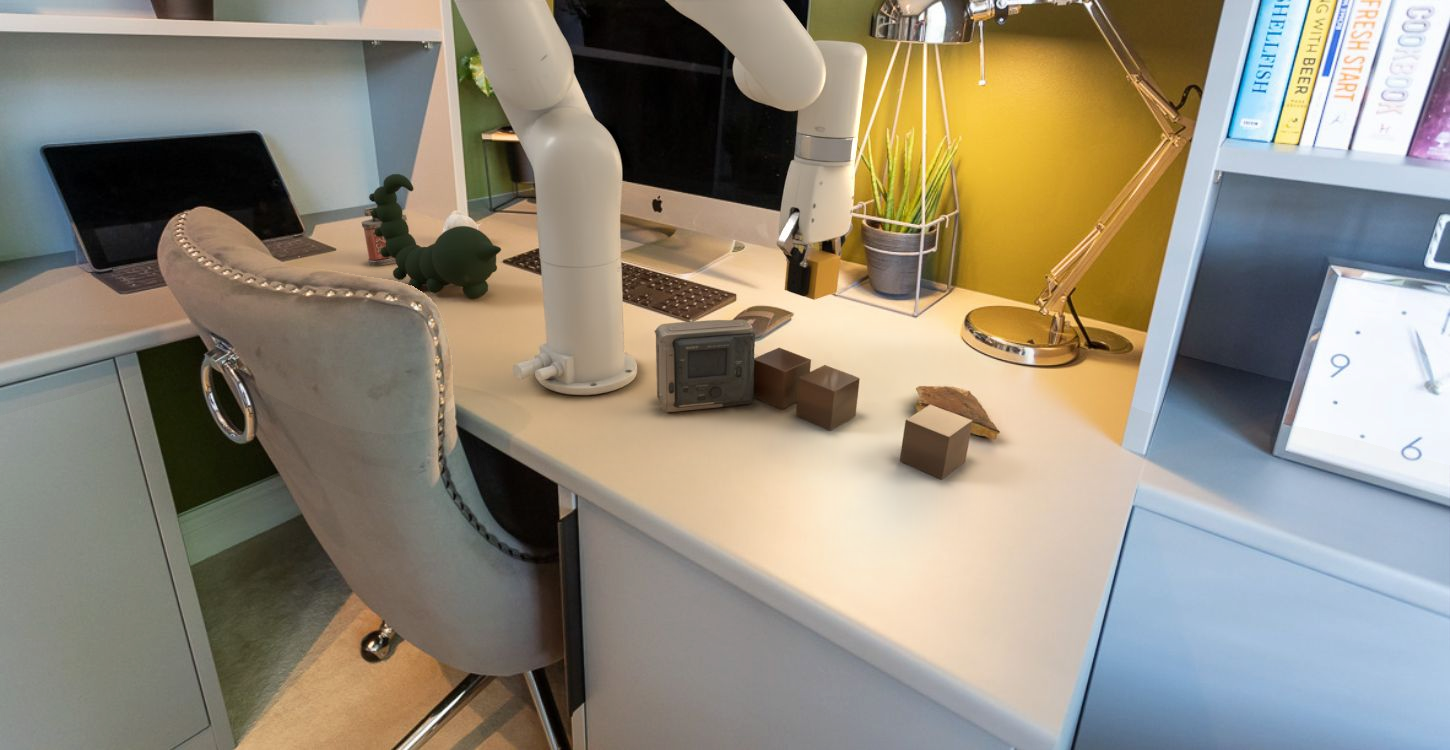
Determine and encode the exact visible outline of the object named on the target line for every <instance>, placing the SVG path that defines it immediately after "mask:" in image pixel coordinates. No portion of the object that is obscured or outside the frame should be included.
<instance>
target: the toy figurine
mask: <svg viewBox="0 0 1450 750" xmlns="http://www.w3.org/2000/svg"><path fill="white" fill-rule="evenodd" d="M401 188H405V189H406V190H408V191H409V192H413V191H414V185H413V184H412V182H411V181H410V179H409V178H408V177H406V176H405V175H403V174H400V173H392V174H390V175H387V176H386V177H385V178H384V180H383V184H382V186H379V187H377V188H376V189H375V190H374V192H373V193H370V194H369V196H368V200H370V201H371V202H374V203H375V204H376V206H377V208H376V209H373V210H372V211H371V216H370V217H371V218H372V217H374V218H376V219H377V218H379V220H380V221H381V222H382V223H381V227H380V228H376V229H375V231H374V234H375V235H376V236H378V237H382V236H383V237H384V238H385V239H386V247H383V248H382V249H381V251H380V254H381V255H382V256H383V257H390V256H392V257H393V258H395V259H396V262H395V263H396V266H397V267H395V268H394V269H393V271H392V276H393V278H395V279H396V280H398V281H402V280H404V279H405V278H406V277H407V276H408V277H409V278H410V280H409V281H408V285H409V284H410V285H412V286H414V287H415V288H417V289H419V290H418V291H420V290H421V289H423V287H424V286H426V289H427V290H428V291H429V292H431V293H434V294H438V293H440V292H441V291H443V289H444V288H445V287H446V286H451V285H452V286H455V287H457V288H458V287H459V288H462V293H463V295H464V296H465V297H466V298H467V299H470V300H475V299H478V298H481V297H483V296H485V295H486V294H487V292H488V291H489V284H488V282H487V280H488V279H489V278H491V276H492V274H493V273H495V272H496V271H497V270H498V265H497V255H499V253H500V252H501V251H502V248H501V246H498V245H495V244H493V242H492V240H491V239H490V238H489V237H488V236H487V235H486V234H485V233H483V231H481V230H480V229H479V230H477V229H475V228H472V227H468V226H458V227H453V228H451V229H449V230H447V231H445V232H444V233H442V232H441V234H440V235H439V236H438V237H437V239H436V240H435V242H434V243H432V244H429V245H428V246H421V245H419V244H417V242H416V239H415V238H414V236H413V234H411V233H410V229H409V225H408V222H407V221H406V222H405V220H404V219H402V216H403V215H404V214H403V209H402V206H401V205H400V204H399V203H398V202H397V201H398V195H397V192H398V191H399V190H400V189H401ZM410 285H409V286H410Z"/></svg>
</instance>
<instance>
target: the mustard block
mask: <svg viewBox="0 0 1450 750" xmlns="http://www.w3.org/2000/svg"><path fill="white" fill-rule="evenodd" d="M799 250H800V252H801V253H802V252H803V249H799ZM841 260H842V256H841V255H840V256H839V255H835V254H832V253H828V252H825V251H821V250H820V249H819V248H818V249H817V248H814V247H813V249H812V252H811V256H810V259H809V263H808V266H810V267H811V273H810V282H809V292H808V295H807V296H804V298H807V299H810V300H813V301H815V300H818V299H821V298H823V297H826V296H829V295H832V294H836V293H837V292H838V285H839V284H838V283H839V276H840V267H841ZM785 269H786V270H785V278H784V279H785V282H784V291H786V292H788V291H787V280H788V269H789V263H788V262H787V261H786V268H785Z"/></svg>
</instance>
